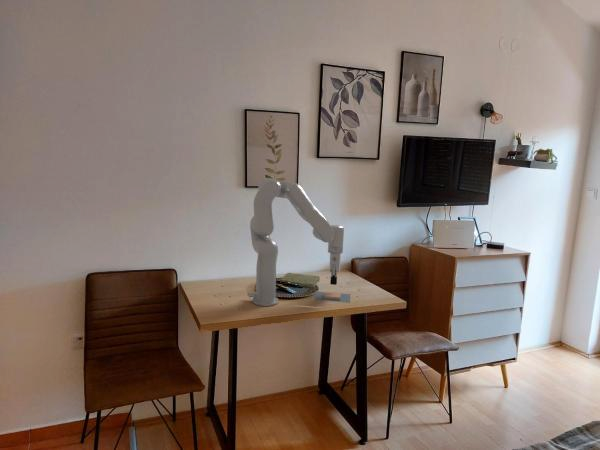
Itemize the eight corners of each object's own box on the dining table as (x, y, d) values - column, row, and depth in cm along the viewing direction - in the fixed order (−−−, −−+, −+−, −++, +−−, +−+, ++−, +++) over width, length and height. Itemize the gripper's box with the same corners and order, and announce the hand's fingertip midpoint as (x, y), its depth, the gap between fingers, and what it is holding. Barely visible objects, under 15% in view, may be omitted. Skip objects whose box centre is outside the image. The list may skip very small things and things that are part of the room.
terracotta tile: (325, 293, 224) (324, 298, 216) (325, 291, 223) (324, 296, 215) (340, 295, 222) (340, 300, 215) (340, 292, 222) (340, 297, 214)
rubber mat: (313, 301, 214) (313, 299, 214) (316, 292, 227) (316, 291, 227) (349, 304, 212) (350, 302, 212) (350, 295, 225) (350, 294, 225)
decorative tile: (286, 277, 255) (286, 271, 255) (319, 280, 251) (320, 274, 251) (278, 286, 237) (278, 280, 237) (314, 290, 233) (314, 283, 233)
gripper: (342, 253, 211) (340, 289, 214) (343, 246, 226) (341, 280, 229) (327, 252, 212) (325, 287, 215) (328, 245, 227) (327, 279, 230)
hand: (333, 284), depth 222 cm, fingers closed
